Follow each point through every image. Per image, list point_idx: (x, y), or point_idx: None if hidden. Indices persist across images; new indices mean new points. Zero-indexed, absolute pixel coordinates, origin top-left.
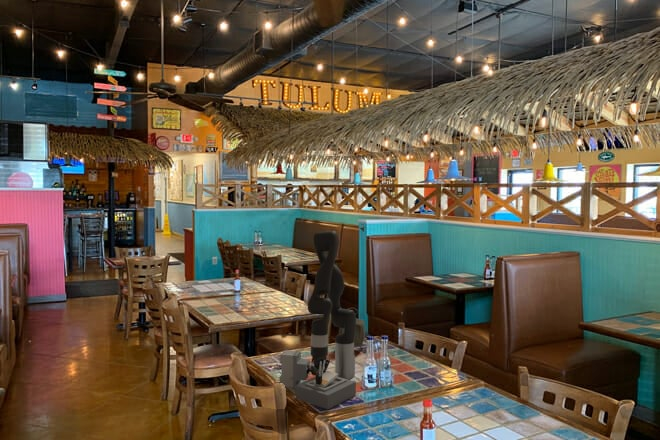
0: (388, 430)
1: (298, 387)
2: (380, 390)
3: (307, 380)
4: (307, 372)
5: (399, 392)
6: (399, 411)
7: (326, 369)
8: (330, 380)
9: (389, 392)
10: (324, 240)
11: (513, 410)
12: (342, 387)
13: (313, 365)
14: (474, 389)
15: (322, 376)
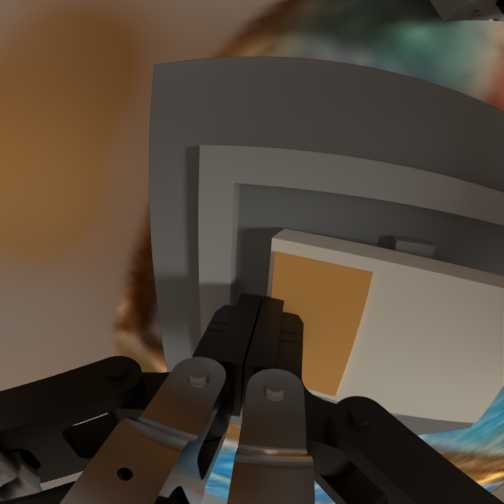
0: (211, 485)
1: (157, 107)
2: (501, 404)
3: (368, 72)
4: (502, 6)
5: (483, 441)
6: None
7: (369, 487)
8: None
9: (483, 428)
10: None
11: None
12: None
13: (9, 496)
14: (493, 484)
15: (429, 302)
